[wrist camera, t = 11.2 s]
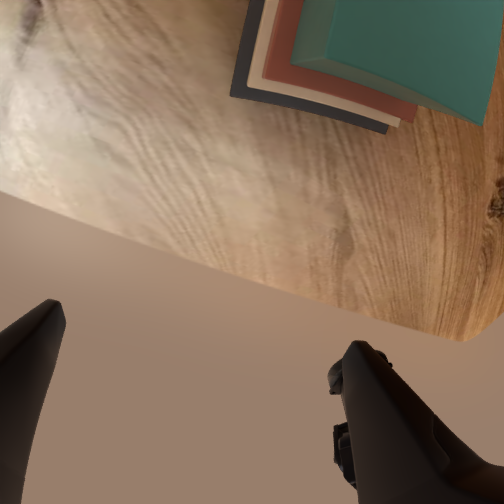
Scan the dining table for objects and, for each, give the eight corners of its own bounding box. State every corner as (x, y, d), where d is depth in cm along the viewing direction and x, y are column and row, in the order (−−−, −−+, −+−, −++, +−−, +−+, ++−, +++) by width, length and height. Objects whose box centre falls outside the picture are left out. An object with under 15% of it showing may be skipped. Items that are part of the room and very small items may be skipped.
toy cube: (404, 101, 10) (482, 127, 6) (288, 64, 10) (323, 57, 5) (425, 3, 8) (505, -9, 3) (313, -43, 7) (355, -97, 3)
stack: (369, 127, 18) (426, 158, 12) (230, 93, 16) (224, 104, 10) (398, 7, 13) (463, -8, 7) (259, -36, 12) (270, -86, 6)
